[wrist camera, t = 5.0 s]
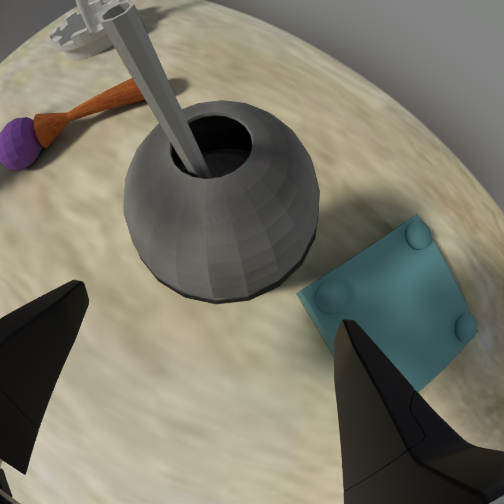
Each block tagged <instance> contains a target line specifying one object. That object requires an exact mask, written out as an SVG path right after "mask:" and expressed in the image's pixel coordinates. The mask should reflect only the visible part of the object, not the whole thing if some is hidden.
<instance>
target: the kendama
mask: <svg viewBox="0 0 504 504" xmlns="http://www.w3.org/2000/svg"><path fill="white" fill-rule="evenodd" d="M142 100H145V98H144V97H143V95H142V93H141V91H140V90H139V88H138V86H137V85H136V83H135V81H134V80H133V78H131V79H129V80H127V81H125V82H123V83H121V84H119V85H117V86H115V87H113V88H111V89H109V90H107V91H105V92H103V93H101V94H99V95H97V96H95V97H93V98H92V99H90V100H88V101H86V102H84V103H83V104H81V105H79V106H77V107H76V108H74V109H72V110H71V111H69V112H68V113H47V114H36V115H35V117H34V120H32V119H30V118H28V117H24V118H16V119H14V120H12V121H11V122H9V123H8V124H7V125H6V126H5V127H4V129H3V130H2V132H1V133H0V163H1V164H2V165H3V166H4V167H6V168H8V169H10V170H22V169H24V168H26V167H28V166H29V165H31V164H33V162H34V161H35V160H36V159H37V157H38V156H39V154H40V151H41V148H42V146H43V147H45V148H47V147H49V146H50V144H51V143H52V142H53V141H54V139H55V138H56V137H57V136H58V135H59V134H60V132H61V131H62V130H63V129H64V128H65V127H66V125H67V124H68V123H69V122H70V121H73V120H76V119H79V118H82V117H85V116H88V115H91V114H94V113H97V112H101V111H104V110H107V109H111V108H115V107H118V106H122V105H126V104H130V103H134V102H138V101H142Z"/></svg>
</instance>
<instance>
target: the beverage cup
mask: <svg viewBox="0 0 504 504" xmlns="http://www.w3.org/2000/svg"><path fill="white" fill-rule="evenodd" d="M99 20H100V23H101V24H102V26H103V28H104V30H105V31H106V33H107V35H108V37H109V38H110V40H111V42H112V44H113V45H114V47H115V49H116V50H117V52H118V54H119V56H120V57H121V59H122V61H123V62H124V64H125V66H126V68H127V69H128V71H129V73H130V74H131V76H132V78H133V80H134V81H135V83H136V85H137V86H138V88H139V90H140V91H141V93H142V95H143V97H144V98H145V100H146V102H147V103H148V105H149V107H150V108H151V110H152V112H153V113H154V115H155V117H156V118H157V120H158V122H159V124H158V125H156V127H155V128H154V129H153V130H152V131H151V132H150V134H149V135H148V136H147V137H146V138H145V140H144V141H143V142H142V143H141V144H140V146H139V147H138V148H137V150H136V152H135V155H134V157H133V160H132V162H131V164H130V167H129V169H128V172H127V175H126V178H125V189H124V216H125V219H126V222H127V226H128V229H129V232H130V235H131V239H132V242H133V244H134V246H135V248H136V250H137V251H138V253H139V256H140V259H141V260H142V261H143V262H144V264H145V265H146V266H147V268H148V269H149V270H150V271H151V273H152V274H153V275H154V276H155V278H156V279H157V280H158V281H159V282H161V283H162V284H164V285H165V286H167V287H169V288H170V289H172V290H173V291H175V292H177V293H178V294H180V295H182V296H183V297H185V298H190V299H194V300H199V301H203V302H208V303H213V304H223V303H232V302H241V301H249V300H251V299H254V298H256V297H258V296H260V295H262V294H264V293H266V292H268V291H271V290H273V289H275V288H277V287H279V286H280V285H281V284H282V283H283V282H284V281H285V280H286V279H287V278H288V277H290V276H291V275H292V274H293V273H294V272H295V271H296V270H297V269H298V268H299V267H300V266H301V265H302V263H303V261H304V259H305V257H306V255H307V254H308V252H309V250H310V248H311V246H312V244H313V242H314V240H315V237H316V229H317V221H318V212H319V197H320V190H319V186H318V182H317V178H316V174H315V170H314V166H313V163H312V159H311V157H310V155H309V154H308V152H307V151H306V149H305V148H304V146H303V145H302V143H301V142H300V140H299V139H298V137H297V136H296V134H295V133H294V132H293V131H292V130H291V129H290V128H289V127H288V126H286V125H285V124H284V123H283V122H281V121H280V120H279V119H277V118H276V117H275V116H274V115H272V114H270V113H269V112H267V111H264V110H262V109H259V108H257V107H254V106H252V105H249V104H246V103H241V102H232V101H223V100H220V101H212V102H204V103H198V104H195V105H192V106H190V107H187V108H184V109H182V110H181V107H180V105H179V103H178V101H177V99H176V96H175V94H174V92H173V90H172V88H171V85H170V83H169V81H168V79H167V77H166V74H165V72H164V70H163V68H162V65H161V63H160V61H159V59H158V56H157V54H156V52H155V50H154V48H153V45H152V43H151V41H150V39H149V36H148V34H147V32H146V30H145V27H144V25H143V23H142V21H141V18H140V16H139V14H138V12H137V10H136V7H135V5H134V3H133V2H132V1H125V2H120V3H118V4H116V5H114V6H112V7H110V8H109V9H107V10H106V11H105V12H104V13H103V14H102V15H101V16H100V17H99Z"/></svg>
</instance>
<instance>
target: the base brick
mask: <svg viewBox="0 0 504 504" xmlns="http://www.w3.org/2000/svg"><path fill="white" fill-rule="evenodd" d="M296 294H297V296H298V297H299V299H300V301H301V302H302V304H303V306H304V307H305V309H306V311H307V312H308V314H309V316H310V317H311V319H312V321H313V322H314V324H315V326H316V327H317V329H318V331H319V333H320V334H321V336H322V338H323V339H324V341H325V343H326V344H327V346H328V348H329V350H330V351H331V353H332V355H333V356H334V338H335V335H336V332H337V330H338V327H339V325H340V322H341V321H342V320H343V319H351V320H355V321H356V322H357V323H358V324H359V326H360V327H361V328H362V329H363V330H364V331H365V332H366V333H367V335H368V336H369V337H370V338H371V339H372V340H373V341H374V342H375V344H376V345H377V346H378V347H379V348H380V349H381V350H382V351H383V353H384V354H385V355H386V356H387V357H388V358H389V359H390V361H391V362H392V363H393V364H394V365H395V366H396V367H397V369H398V370H399V371H400V372H401V373H402V374H403V376H404V377H405V378H406V379H407V380H408V381H409V383H410V384H411V385H412V386H413V387H414V390H416V391H417V392H419V391H421V390H422V389H423V388H424V387H425V386H426V385H427V384H428V383H429V382H430V381H431V380H433V379H434V378H435V377H436V376H437V375H438V374H439V373H440V372H441V371H442V370H443V369H444V368H445V367H446V366H447V365H448V364H449V363H450V362H451V361H452V360H453V359H454V358H455V356H456V355H457V354H458V353H459V352H460V351H461V350H462V349H463V348H464V347H465V346H466V344H467V343H468V342H469V341H470V340H471V339H473V338H474V336H475V334H476V333H477V332H478V330H477V322H476V319H475V317H474V316H473V315H471V313H470V311H469V308H468V306H467V304H466V302H465V300H464V298H463V295H462V293H461V291H460V289H459V287H458V285H457V283H456V281H455V279H454V277H453V275H452V273H451V271H450V269H449V267H448V266H447V264H446V262H445V260H444V258H443V256H442V255H441V253H440V251H439V249H438V247H437V246H436V244H435V242H434V241H433V239H432V237H431V232H430V229H429V227H428V226H427V225H426V224H425V223H424V222H422V221H421V219H420V218H419V216H418V214H416V215H415V216H413V217H412V218H410V219H409V220H407V221H406V222H405V223H403V224H402V225H400V226H399V227H397V228H396V229H395V230H393V231H392V232H390V233H389V234H387V235H386V236H384V237H383V238H381V239H380V240H379V241H377V242H376V243H374V244H373V245H371V246H370V247H368V248H367V249H365V250H364V251H362V252H361V253H359V254H358V255H356V256H354V257H353V258H351V259H350V260H348V261H347V262H345V263H344V264H342V265H341V266H339V267H337V268H336V269H334V270H333V271H331V272H330V273H328V274H326V275H325V276H323V277H322V278H320V279H318V280H317V281H315V282H314V283H312V284H310V285H309V286H307V287H305V288H304V289H302V290H301V291H299V292H298V293H296Z"/></svg>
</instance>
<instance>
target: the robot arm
mask: <svg viewBox="0 0 504 504" xmlns="http://www.w3.org/2000/svg"><path fill="white" fill-rule="evenodd" d="M88 305H89V298H88V294H87V291H86V287H85V284H84V283H83V282H82V281H78V280H72V281H70V282H68V283H66V284H64V285H62V286H60V287H58V288H56V289H54V290H52V291H50V292H48V293H46V294H45V295H43V296H41V297H39V298H37V299H35V300H33V301H31V302H29V303H28V304H26V305H24V306H22V307H20V308H18V309H17V310H15V311H13V312H11V313H9V314H7V315H6V316H4V317H2V318H1V319H0V467H1V464H2V462H3V461H4V462H6V463H7V464H9V465H10V466H12V467H13V468H15V469H16V470H18V471H19V472H21V473H23V474H24V475H25V474H26V472H27V469H28V465H29V461H30V458H31V454H32V451H33V447H34V444H35V441H36V438H37V434H38V431H39V430H38V429H39V428H40V425H41V422H42V419H43V416H44V414H45V411H46V408H47V405H48V403H49V400H50V397H51V395H52V392H53V390H54V387H55V385H56V382H57V380H58V378H59V375H60V373H61V371H62V368H63V366H64V364H65V361H66V359H67V357H68V355H69V352H70V350H71V348H72V346H73V344H74V342H75V339H76V337H77V334H78V332H79V329H80V326H81V323H82V321H83V318H84V315H85V313H86V310H87V308H88ZM334 382H335V392H336V401H337V410H338V420H339V431H340V442H341V455H342V469H343V487H344V504H504V452H503V451H497V450H492V449H487V448H482V447H477V446H474V445H472V444H470V443H468V442H466V441H465V440H464V439H463V438H462V437H460V436H459V435H458V434H457V433H456V432H455V431H454V430H453V429H452V428H451V427H450V426H449V425H448V424H447V423H446V422H445V421H444V420H443V419H442V418H441V417H440V416H439V415H438V414H437V413H436V412H435V411H434V410H433V409H432V408H431V407H430V406H429V404H428V403H427V402H426V401H425V400H424V399H423V398H422V397H421V395H420V394H419V393H418V392H417V391H416V390H414V387H413V386H412V385H411V384H410V383H409V381H408V380H407V379H406V378H405V377H404V376H403V374H402V373H401V372H400V371H399V370H398V369H397V367H396V366H395V365H394V364H393V363H392V362H391V361H390V359H389V358H388V357H387V356H386V355H385V354H384V353H383V351H382V350H381V349H380V348H379V347H378V346H377V345H376V344H375V342H374V341H373V340H372V339H371V338H370V337H369V336H368V335H367V333H366V332H365V331H364V330H363V329H362V328H361V327H360V326H359V324H358V323H357V322H356V321H355V320H351V319H343V320H342V321H341V322H340V325H339V327H338V330H337V332H336V335H335V338H334ZM0 504H20V503H19V502H17V501H16V500H15V499H13V498H12V494H11V491H10V488H9V485H8V483H7V480H6V477H5V473H4V470H3V469H1V468H0Z"/></svg>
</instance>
